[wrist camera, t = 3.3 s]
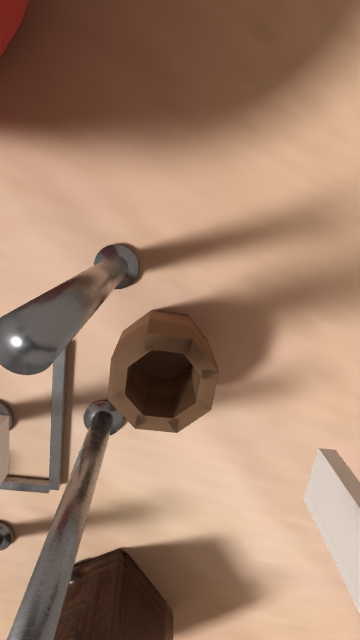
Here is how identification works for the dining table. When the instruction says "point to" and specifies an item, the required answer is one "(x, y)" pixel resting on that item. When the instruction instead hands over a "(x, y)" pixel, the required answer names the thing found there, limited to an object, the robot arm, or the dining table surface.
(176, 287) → the dining table surface
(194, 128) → the dining table surface
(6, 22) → the mixing bowl
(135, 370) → the napkin ring
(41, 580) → the wire course
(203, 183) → the dining table surface
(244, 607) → the dining table surface
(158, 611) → the brown coffee grinder
